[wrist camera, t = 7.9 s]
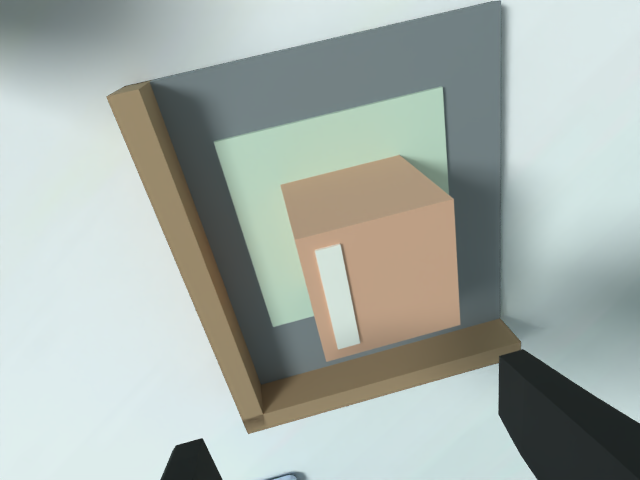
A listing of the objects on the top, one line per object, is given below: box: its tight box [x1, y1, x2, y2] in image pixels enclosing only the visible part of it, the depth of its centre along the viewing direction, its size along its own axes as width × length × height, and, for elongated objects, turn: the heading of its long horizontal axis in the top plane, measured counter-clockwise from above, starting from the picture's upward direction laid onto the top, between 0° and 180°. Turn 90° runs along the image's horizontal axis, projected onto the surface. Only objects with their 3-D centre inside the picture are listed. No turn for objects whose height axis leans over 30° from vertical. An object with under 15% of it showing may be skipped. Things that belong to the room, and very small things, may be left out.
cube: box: [280, 155, 460, 362], centre depth 16 cm, size 5×5×5 cm
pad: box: [214, 86, 449, 327], centre depth 19 cm, size 9×9×1 cm
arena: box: [107, 1, 521, 434], centre depth 19 cm, size 16×14×2 cm
